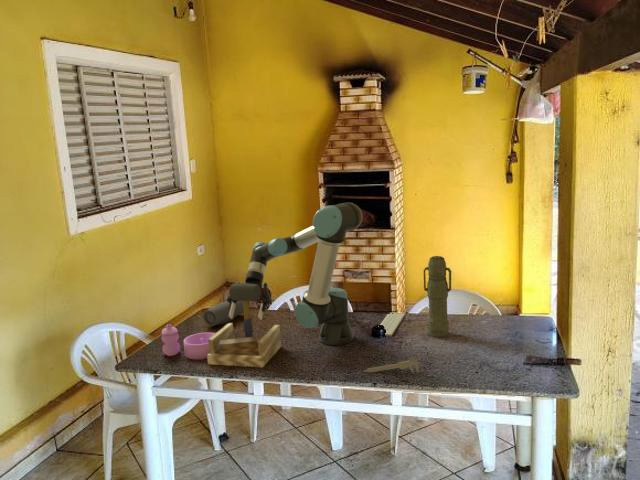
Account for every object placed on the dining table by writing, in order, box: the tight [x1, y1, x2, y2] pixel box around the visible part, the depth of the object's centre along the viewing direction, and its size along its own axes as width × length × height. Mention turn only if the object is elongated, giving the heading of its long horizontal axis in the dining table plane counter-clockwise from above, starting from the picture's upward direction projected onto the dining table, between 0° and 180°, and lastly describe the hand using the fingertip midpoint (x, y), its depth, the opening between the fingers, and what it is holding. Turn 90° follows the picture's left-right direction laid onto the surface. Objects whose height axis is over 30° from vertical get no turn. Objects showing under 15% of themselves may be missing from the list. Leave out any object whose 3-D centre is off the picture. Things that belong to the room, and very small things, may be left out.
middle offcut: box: [220, 348, 259, 356], centre depth 229 cm, size 16×5×3 cm, turn 86°
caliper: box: [364, 356, 419, 374], centre depth 209 cm, size 20×1×6 cm, turn 81°
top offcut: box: [219, 336, 260, 352], centre depth 229 cm, size 16×5×3 cm, turn 98°
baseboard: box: [379, 309, 406, 337], centre depth 262 cm, size 30×3×10 cm
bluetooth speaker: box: [203, 300, 244, 327], centre depth 280 cm, size 23×9×10 cm, turn 148°
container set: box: [161, 323, 216, 360], centre depth 240 cm, size 25×15×13 cm, turn 88°
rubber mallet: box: [228, 282, 262, 338], centre depth 237 cm, size 12×8×30 cm, turn 70°
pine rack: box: [206, 322, 282, 368], centre depth 234 cm, size 24×22×10 cm
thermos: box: [423, 255, 452, 339], centre depth 242 cm, size 9×12×35 cm
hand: (244, 317), depth 234 cm, fingers open, 13 cm apart
